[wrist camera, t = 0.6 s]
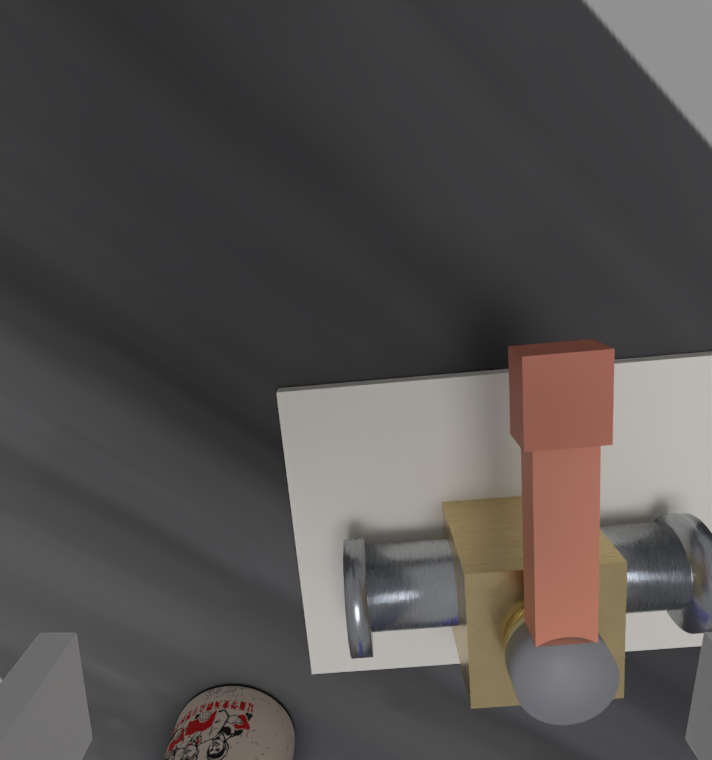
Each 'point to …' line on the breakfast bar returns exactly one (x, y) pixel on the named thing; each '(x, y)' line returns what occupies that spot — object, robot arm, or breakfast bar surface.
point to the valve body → (518, 586)
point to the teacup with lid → (232, 727)
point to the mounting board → (471, 480)
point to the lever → (561, 527)
